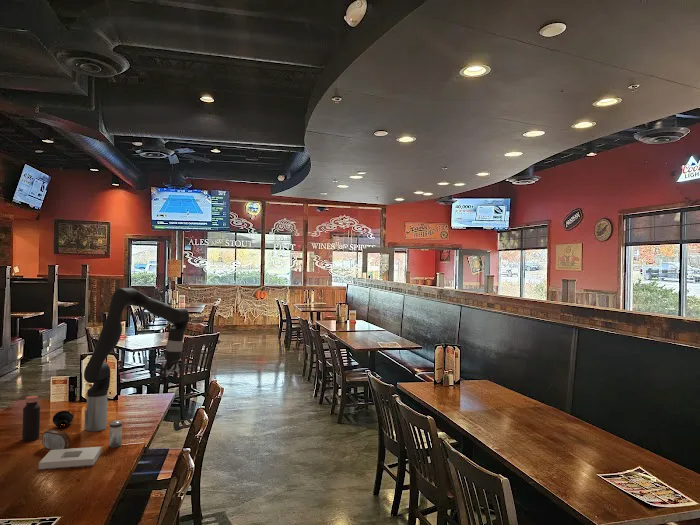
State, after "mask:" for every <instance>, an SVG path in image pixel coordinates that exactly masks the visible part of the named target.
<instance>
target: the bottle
mask: <svg viewBox="0 0 700 525" xmlns="http://www.w3.org/2000/svg"><path fill="white" fill-rule="evenodd" d="M38 402H39V395H29V396H28V395H27V396H26V397H25V404H26V405H25V406H24V407H23V408H22V431H21V432H22V436H21V437H22V438H21V440H22V441H23V442H33V441H36V440H38V439H39V438H40V429H41V428H40V426H41V425H40V422H41V421H40V420H41V406H40V404H38Z"/></svg>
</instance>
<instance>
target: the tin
mask: <svg viewBox="0 0 700 525" xmlns="http://www.w3.org/2000/svg"><path fill="white" fill-rule="evenodd" d="M41 443H42V446H43V447H44V448H45V449H47V450H50V449H51V450H58V449H70V447H71V445H72V444H71V443H72V440H71V437H70V435H69V434H68V433H67V432H66V431H62V430H58V429H53V428H52V429H49V430H46V431H45V432H43V433H42V435H41Z"/></svg>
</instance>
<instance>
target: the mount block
mask: <svg viewBox="0 0 700 525" xmlns="http://www.w3.org/2000/svg"><path fill="white" fill-rule="evenodd" d="M100 454H101V455H102V446H91V447H87V446H86V447H77V448H76V447H75V448H69V449H58V450H50V449H49V451H48V453H46V455H45V456H44V457H43V458H42V459H40V461H39V462H38V471H46V469H48V470H56V469H55V468H61V469H71V468H70V467H74V468H84V467H85V466H87V467H94V466H95V465H96V463H95V462H97V461H98V460H99V458H100V456H101V455H100ZM93 465H94V466H93Z"/></svg>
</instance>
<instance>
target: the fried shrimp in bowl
mask: <svg viewBox="0 0 700 525" xmlns="http://www.w3.org/2000/svg"><path fill="white" fill-rule="evenodd" d="M74 418H75V413H72V412H71V411H68V410H61V411H57V412H56V413H55V414H54V415H53V416H52V423H53V424H54V425H55V426H56V427H57V428H59V429H65V428H66V427H68V426H69V425H70V424H71V423H72V422H73V421H74V420H73V419H74ZM61 424H65V427H60V426H62V425H61Z"/></svg>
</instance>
